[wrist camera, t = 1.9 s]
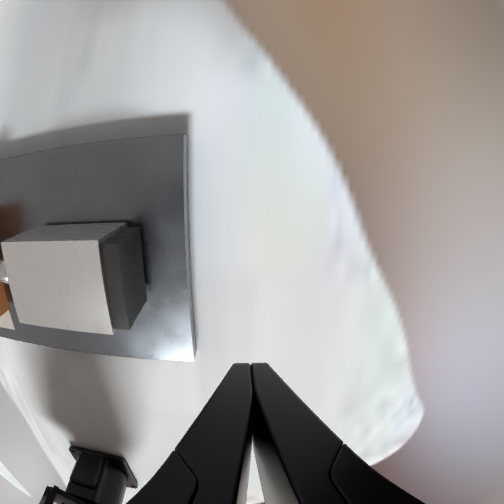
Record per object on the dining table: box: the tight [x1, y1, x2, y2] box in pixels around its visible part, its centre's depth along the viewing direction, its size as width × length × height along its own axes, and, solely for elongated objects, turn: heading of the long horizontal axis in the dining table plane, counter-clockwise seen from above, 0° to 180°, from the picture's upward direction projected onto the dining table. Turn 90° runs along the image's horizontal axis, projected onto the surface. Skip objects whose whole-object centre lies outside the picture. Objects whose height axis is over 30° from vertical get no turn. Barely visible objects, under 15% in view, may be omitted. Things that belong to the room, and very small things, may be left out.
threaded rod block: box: [0, 222, 147, 335], centre depth 13 cm, size 4×11×4 cm, turn 89°
